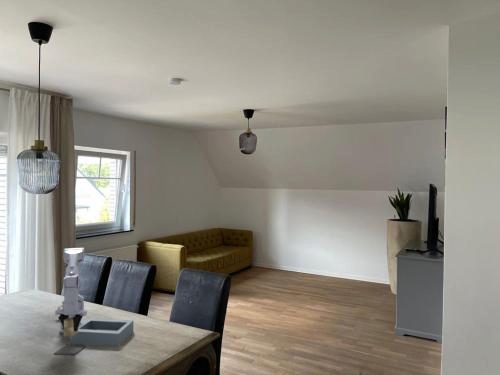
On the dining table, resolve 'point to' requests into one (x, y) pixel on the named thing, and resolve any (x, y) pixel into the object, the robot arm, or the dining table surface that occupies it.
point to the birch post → (69, 327)
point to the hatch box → (103, 332)
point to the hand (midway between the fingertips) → (70, 330)
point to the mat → (70, 349)
